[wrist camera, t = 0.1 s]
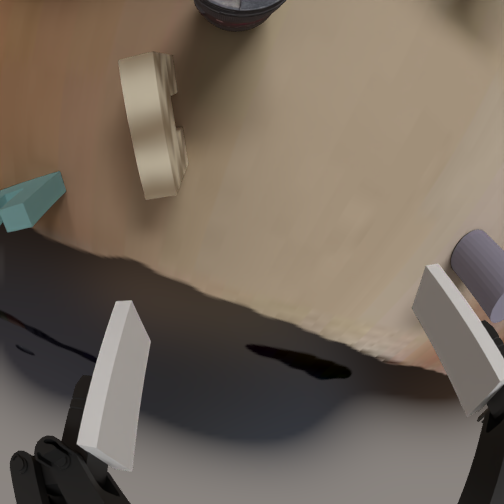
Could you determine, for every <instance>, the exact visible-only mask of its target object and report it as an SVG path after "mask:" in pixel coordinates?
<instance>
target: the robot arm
mask: <svg viewBox="0 0 504 504" xmlns="http://www.w3.org/2000/svg"><path fill="white" fill-rule="evenodd" d="M412 309H413V311H414V313H415V315H416V316H417V318H418V320H419V322H420V323H421V325H422V327H423V329H424V331H425V332H426V334H427V336H428V338H429V340H430V342H431V344H432V345H433V347H434V349H435V351H436V353H437V355H438V357H439V359H440V361H441V363H442V365H443V367H444V369H445V371H446V373H447V375H448V377H449V379H450V381H451V383H452V385H453V387H454V390H455V392H456V394H457V396H458V398H459V400H460V403H461V405H462V407H463V409H464V412H465V414H466V416H467V417H468V416H470V415H472V414H474V413H476V412H477V411H479V410H481V409H482V408H483V407H484V405H486V404H487V406H488V409H486V410H485V411H484V412H483V413H482V414H481V415H480V416H479V417H478V420H477V421H478V422H479V421H480V420H481V419H482V418H483V417H484V416H485V417H484V420H483V421H482V423H483V426H482V431H481V434H480V438H479V442H478V446H477V449H476V453H475V457H474V459H473V463H472V466H471V469H470V472H469V475H468V478H467V481H466V484H465V486H464V489H463V492H462V494H461V497H460V499H459V502H458V504H504V343H503V341H502V340H501V338H499V335H498V334H497V332H496V330H495V329H494V327H493V326H491V325H490V324H489V323H488V322H487V321H485V320H484V321H480V320H479V318H478V317H477V315H476V314H475V312H474V311H473V310H472V308H471V307H470V305H469V304H468V302H467V301H466V300H465V298H464V297H463V295H462V294H461V293H460V291H459V290H458V289H457V287H456V286H455V285H454V283H453V282H452V281H451V279H450V278H449V277H448V275H447V274H446V273H445V272H444V270H443V269H442V268H441V266H440V265H439V264H432V265H426V267H425V270H424V273H423V276H422V279H421V283H420V286H419V289H418V292H417V295H416V297H415V300H414V303H413V306H412ZM150 343H151V341H150V338H149V336H148V334H147V332H146V330H145V328H144V326H143V324H142V322H141V320H140V318H139V316H138V313H137V311H136V309H135V307H134V305H133V302H132V301H131V300H130V301H116V303H115V306H114V309H113V312H112V315H111V318H110V321H109V324H108V327H107V330H106V333H105V336H104V339H103V342H102V345H101V349H100V352H99V356H98V359H97V362H96V366H95V369H94V373H93V376H87V375H83V376H82V377H81V378H80V380H79V381H78V383H77V384H76V386H75V389H74V393H73V399H72V401H71V404H70V409H69V412H68V416H67V420H66V424H65V428H64V433H63V437H62V441H60V440H59V439H57V438H55V437H54V436H45V437H42V438H41V439H40V440H39V441H38V442H37V444H36V446H35V452H34V454H35V455H34V456H32V455H30V454H28V453H27V452H25V451H18V452H16V453H14V455H13V456H12V458H11V461H10V471H11V477H12V483H13V488H14V493H15V498H16V502H17V504H130V502H129V501H128V500H127V498H126V497H125V495H124V494H123V493H122V491H121V490H120V488H119V487H118V485H117V484H116V483H115V481H114V480H113V478H112V477H111V475H110V474H109V473H108V472H107V468H108V465H109V466H110V467H112V468H114V469H118V470H125V471H133V460H134V450H135V441H136V432H137V424H138V417H139V409H140V403H141V396H142V389H143V383H144V376H145V371H146V365H147V359H148V354H149V348H150Z"/></svg>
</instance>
